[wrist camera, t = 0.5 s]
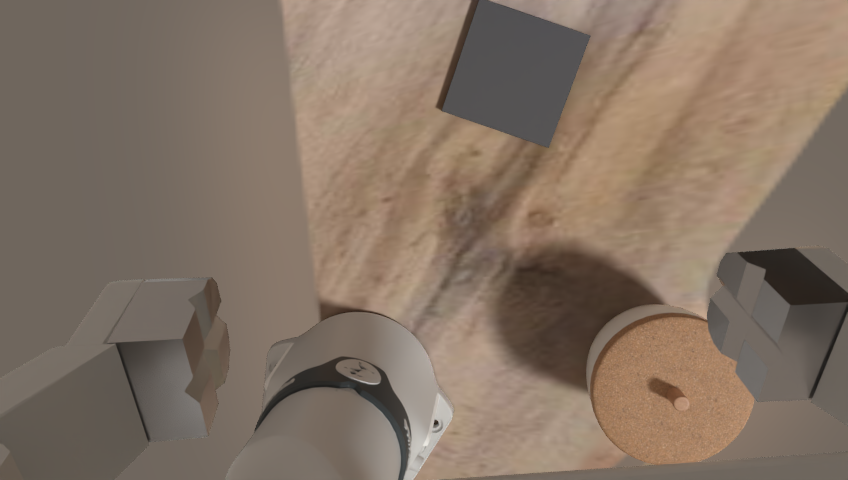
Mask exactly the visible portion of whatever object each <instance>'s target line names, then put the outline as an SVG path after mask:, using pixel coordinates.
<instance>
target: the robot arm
mask: <svg viewBox="0 0 848 480" xmlns="http://www.w3.org/2000/svg"><path fill="white" fill-rule="evenodd" d="M717 277H718V278H719V280H720V282H721V284H722V285H723V286H722V287H721V288H720V289H719V290H718V291H717V292H716V293H715V294H714V295H713V296H712V297H711V298H710V303H709V307H708V312H707V321H708V330H709V333H710V336H711V338H712V341H713V343H714V344H715V346H716V347H717V349H718V350H719V351H720V353H721V354H723V355H725V356H727V357H729V358H731V359H733V360H734V361H736V362H737V365H736V369H735V373H736V374H737V376H738V377H739V378H740V380H741V381H742V382H743V384H744V385H745V386H746V388H747V389H748V390H749V392H750V393H751V394H752V396H753V397H754V398H755V399H756V401H757V402H764V401H790V400H791V401H792V400H812V401H811V402H812V403H813V404H815V405H816V406H818V407H819V408H821V409H822V410H824V411H825V412H827V413H828V414H830V415H831V416H833V417H834V418H836V419H837V420H839V421H840V422H842V423H844V424H845V425H847V426H848V263H846V262H845V261H844V260H842V259H841V258H840V257H839V256H837V255H836V254H835V253H834V252H832V251H831V250H830V249H828V248H825V247H821V246H807V247H795V248H787V249H775V250H774V249H773V250H760V251H746V252H733V253H726V254H725V256H724V257H723V259H722V260H721V262H720V265H719V268H718V272H717ZM220 303H221V298H220V295H219V291H218V286H217V283H216V282H215V280H214V279H213V278H180V279H148V280H144V279H141V280H126V281H125V280H124V281H114V282H111V283H108V284H107V285H106V287H105V288H104V290H103V291H102V293H101V294H100V296H99V297H98V299H97V300H96V301H95V303H94V304H93V306H92V308H91V309H90V310H89V312H88V313H87V315H86V316H85V318H84V319H83V321H82V322H81V324H80V325H79V327H78V328H77V330H76V331H75V333H74V334H73V336H72V337H71V339H70V340H69V342H68V343H67V345H66V346H63V347H53V348H52V349H50V350H48V351H47V352H45V353H43V354H41V355H40V356H38V357H36V358H34V359H33V360H31V361H29V362H27V363H25V364H24V365H22V366H20V367H19V368H17V369H15V370H13V371H11V372H10V373H8V374H6V375H5V376H3V377H1V378H0V480H115V478H117V477H118V476H119V475H120V474H121V472H123V471H124V470H125V469H126V468H127V467H128V466H129V465H130V464H131V463H132V462H133V461H134V460H135V459H136V458H137V457H138V456H139V455H140V454H141V453H142V452H143V451H144V450H145V449H146V448H147V447H148V446H149V442H156V441H167V440H178V439H188V438H200V437H208V436H209V433H210V429H211V426H212V423H213V420H214V417H215V413H216V410H217V407H218V399H217V395H216V391H215V390H216V389H217V388H219V387H220V386H221V385H222V384H223V383H225V380H226V376H227V372H228V368H229V356H230V347H229V336H228V331H227V326H226V323H224V322H223V321H222V320H221V319H220V318H219V317H218V316H217V315H216V314H217V311H218V308H219V305H220ZM276 364H277V365H276ZM453 413H454V410H453V406H452V404H451V402H450V400H449V399H448V398H447V396H446V395H445V394H444V392H443V391H442V390H441V389H440V388H439V386H438V384H437V382H436V379H435V376H434V372H433V368H432V365H431V362H430V359H429V357H428V355H427V353H426V351H425V350H424V348H423V346H422V345H421V344H420V342H419V341H418V340H417V339H416V337H415V336H414V335H413V334H412V333H411V332H409V331H408V330H407V329H406V328H404V327H403V326H402V325H400V324H399V323H397V322H395V321H393V320H391V319H389V318H386V317H384V316H381V315H377V314H373V313H367V312H349V313H342V314H338V315H335V316H332V317H329V318H327V319H325V320H323V321H321V322H319V323H318V324H316V325H315V326H314V327H312V328H311V329H310V330H308V331H307V332H306V333H304V334H303V335H301V336H299V337H295V338H291V339H286V340H282V341H280V342H277V343H275V344H274V345H273V346H272V347H271V349H270V350H269V352H268V355H267V363H266V374H265V384H264V395H263V406H262V414H261V416H260V418H259V420H258V422H257V425H256V428H255V432H254V434H253V435H252V437H251V438H250V440H249V441H248V442H247V444H246V445H245V446H244V448H243V449H242V450H241V452H240V453H239V455H238V456H237V457H236V459H235V460H234V462H233V463H232V465H231V467H230V469H229V470H228V472H227V475H226V478H225V480H413V479H414V478H415V476H416V475H417V473H418V472H419V470H420V469H421V467H422V465H423V464H424V462H425V461H426V459H427V457H428V456H429V454H430V453H431V451H432V450H433V448H434V446H435V445H436V443H437V442H438V440H439V439H440V437H441V436H442V434H443V432H444V431H445V429H446V428H447V426H448V425H449V423H450V421H451V419H452V416H453ZM434 420H437V421H438V422H439V423H438V424H434ZM441 480H848V452H835V453H821V454H807V455H806V454H805V455H791V456H777V457H764V458H763V457H762V458H748V459H734V460H720V461H705V462H690V463H676V464H661V465H647V466H634V467H619V468H604V469H589V470H574V471H559V472H544V473H529V474H514V475H499V476H485V477H470V478H455V479H441Z"/></svg>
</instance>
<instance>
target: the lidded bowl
mask: <svg viewBox="0 0 848 480" xmlns="http://www.w3.org/2000/svg"><path fill="white" fill-rule="evenodd" d="M736 365H737V362H736V361H734V360H733V359H731V358H729V357H727V356H725V355H723V354H721V353H720V351H719V350H718V349H717V347H716V346H715V344H714V343H713V341H712V338H711V336H710V333H709V330H708V321H707V320H706V319H704V318H703V317H701V316H699V315H698V314H695V313H693V312H690V311H688V310H685V309H683V308H679V307H675V306H670V305H660V304H651V305H643V306H638V307H634V308H631V309H629V310H626V311H624V312H622V313H620V314H619V315H617V316H615V317H614V318H613V319H611V320H610V321H609V322H608V323H607V324H606V325H605V326H604V327H603V328H602V329H601V330H600V331H599V333H598V334H597V336H596V337H595V339H594V341H593V343H592V345H591V348H590V351H589V355H588V359H587V367H586V378H587V387H588V392H589V396H590V399H591V402H592V406H593V411H594V413H595V416H596V418H597V420H598V423H599V425H600V427H601V428H602V430H603V431H604V433H605V434H606V436H607V437H608V438H609V439H610V440H611V441H612V442H613V444H615V445H616V446H617V447H618V448H619V449H621V450H622V451H623V452H625V453H627V454H628V455H630V456H632V457H634V458H636V459H639V460H641V461H644V462H647V463H651V464H655V465H661V464H676V463H690V462H698V461H701V460H704V459H707V458H709V457H710V456H712V455H714V454H716V453H718V452H719V451H721V450H722V449H724V448H725V447H726V446H728V445H729V444H730V443H731V442H732V441H733V440H734V439H735V438H736V437H737V436H738V434H739V433H740V432H741V430H742V429H743V428H744V426H745V424H746V422H747V420H748V418H749V416H750V414H751V410H752V407H753V403H754V397H753V396H752V394H751V393H750V392H749V390H748V389H747V388H746V386H745V385H744V384H743V382H742V381H741V380H740V378H739V377H738V376H737V374H736V373H735V369H736Z"/></svg>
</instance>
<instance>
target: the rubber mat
mask: <svg viewBox="0 0 848 480" xmlns="http://www.w3.org/2000/svg"><path fill="white" fill-rule="evenodd" d="M589 38H590V35H587V34H584V33H581V32H578V31H575V30H572V29H569V28H566V27H564V26H561V25H558V24H555V23H552V22H549V21H546V20H543V19H540V18H537V17H534V16H531V15H528V14H525V13H523V12H520V11H517V10H514V9H511V8H508V7H505V6H502V5H499V4H496V3H493V2H490V1H487V0H479V2H478V5H477V8H476V11H475V14H474V17H473V20H472V23H471V26H470V29H469V32H468V35H467V37H466V40H465V43H464V46H463V49H462V52H461V55H460V58H459V61H458V64H457V67H456V70H455V73H454V76H453V79H452V82H451V85H450V88H449V91H448V94H447V97H446V100H445V103H444V106H443V109H442V111H444V112H446V113H449V114H452V115H455V116H458V117H461V118H464V119H467V120H470V121H472V122H475V123H478V124H481V125H484V126H487V127H490V128H493V129H496V130H499V131H501V132H504V133H507V134H510V135H513V136H516V137H519V138H522V139H525V140H527V141H530V142H533V143H536V144H539V145H542V146H545V147H548V148H549V145H550V142H551V140H552V137H553V134H554V132H555V129H556V126H557V124H558V121H559V118H560V116H561V113H562V110H563V108H564V105H565V102H566V100H567V97H568V94H569V92H570V89H571V86H572V84H573V81H574V78H575V76H576V73H577V70H578V68H579V65H580V62H581V60H582V57H583V54H584V52H585V49H586V46H587V44H588V41H589Z"/></svg>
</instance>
